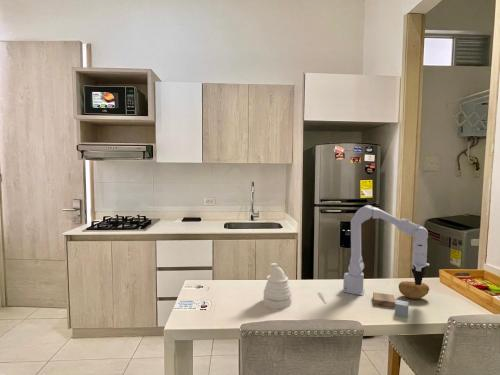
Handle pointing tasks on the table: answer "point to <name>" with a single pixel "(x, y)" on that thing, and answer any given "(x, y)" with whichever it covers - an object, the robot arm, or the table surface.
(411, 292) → the potato
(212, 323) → the table surface
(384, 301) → the walnut block
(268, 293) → the honey pot
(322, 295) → the butter knife
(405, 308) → the cube
